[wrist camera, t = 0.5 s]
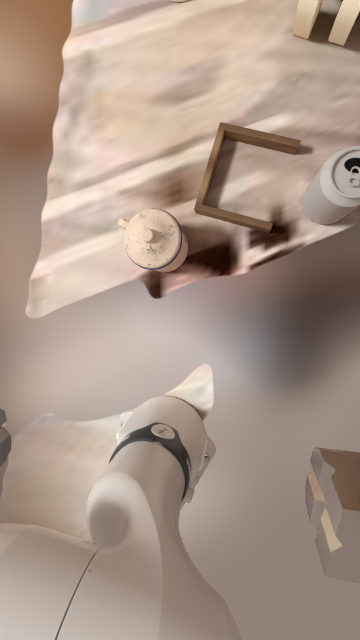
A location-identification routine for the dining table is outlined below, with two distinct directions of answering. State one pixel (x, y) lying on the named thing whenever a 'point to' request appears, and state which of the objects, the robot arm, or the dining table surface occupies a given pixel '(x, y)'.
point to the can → (334, 188)
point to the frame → (223, 132)
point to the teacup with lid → (155, 240)
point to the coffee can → (178, 0)
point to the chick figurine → (342, 26)
